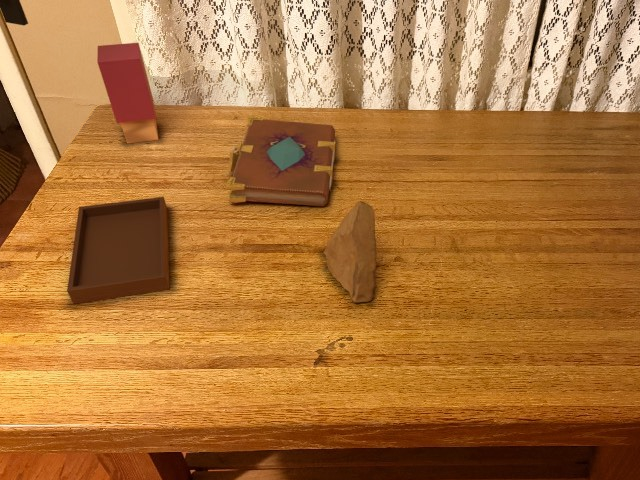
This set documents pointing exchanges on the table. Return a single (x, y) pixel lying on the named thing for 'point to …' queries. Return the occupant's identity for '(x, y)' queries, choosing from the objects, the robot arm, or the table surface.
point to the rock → (354, 253)
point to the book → (283, 163)
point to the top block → (126, 82)
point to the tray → (120, 250)
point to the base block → (140, 131)
